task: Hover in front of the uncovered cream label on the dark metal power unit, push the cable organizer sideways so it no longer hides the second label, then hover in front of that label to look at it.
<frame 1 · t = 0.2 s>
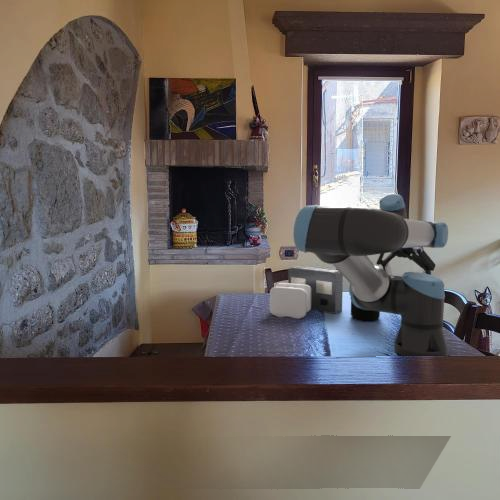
hand: (408, 279, 163), 16 cm above the table, tool tilted 35°, fingers open, 13 cm apart
power unit: (314, 307, 185), on the table
coffee jar: (365, 318, 170), on the table
cable organizer: (290, 314, 176), on the table
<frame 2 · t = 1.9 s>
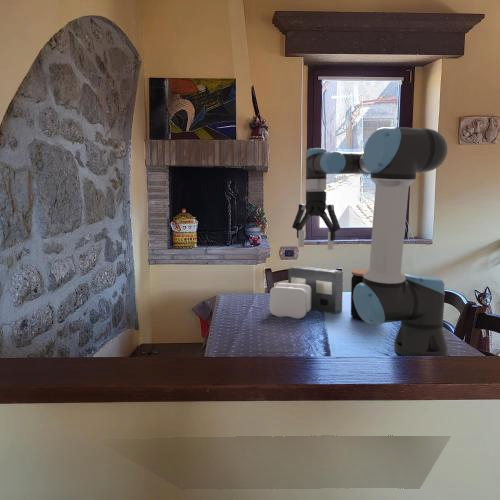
hand: (315, 248, 170), 27 cm above the table, tool pointing down, fingers open, 12 cm apart
nothing on the table moved.
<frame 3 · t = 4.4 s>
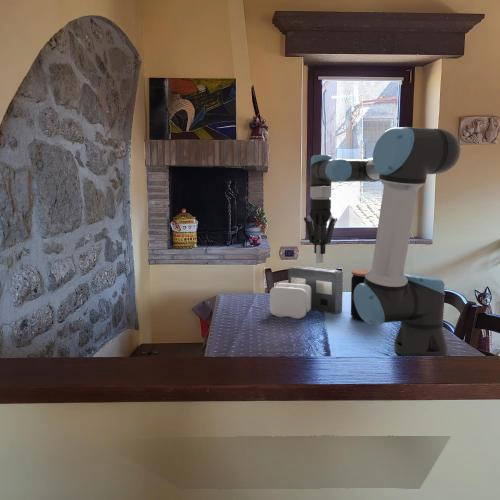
hand: (319, 262, 166), 22 cm above the table, tool pointing down, fingers closed
nothing on the table moved.
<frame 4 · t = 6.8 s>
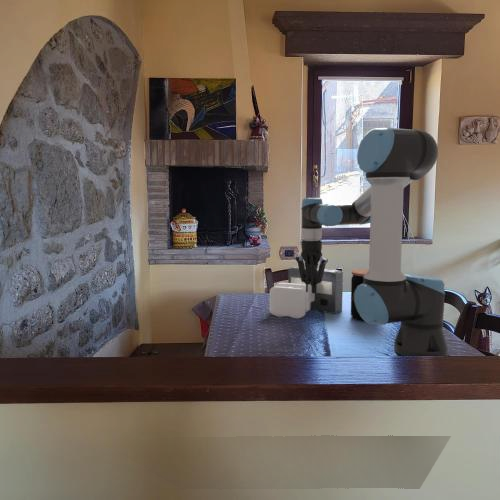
hand: (311, 301, 170), 7 cm above the table, tool pointing down, fingers closed
cable organizer: (289, 314, 176), on the table, touching gripper
everything else where it was.
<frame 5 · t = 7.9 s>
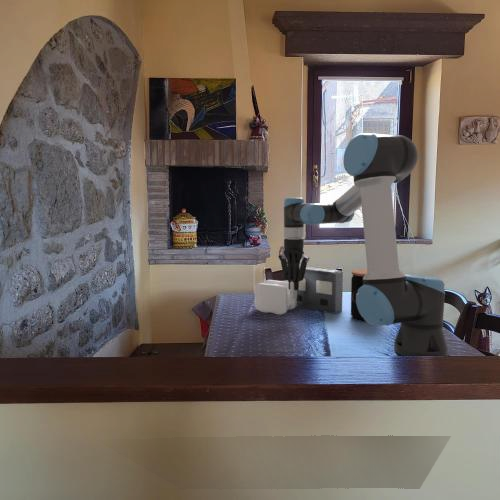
hand: (293, 298, 175), 7 cm above the table, tool pointing down, fingers closed
cable organizer: (275, 311, 182), on the table, touching gripper
everything else where it was.
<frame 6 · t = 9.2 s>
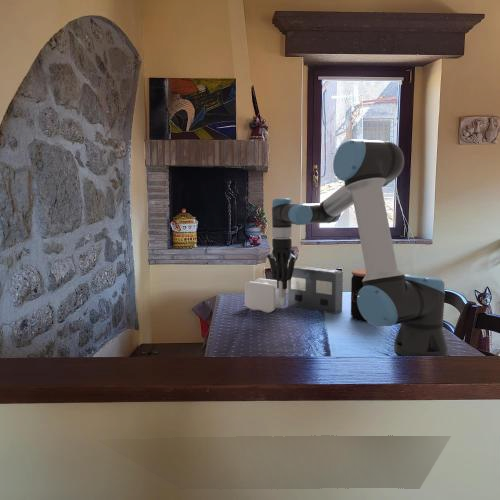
hand: (282, 296, 178), 6 cm above the table, tool pointing down, fingers closed
cable organizer: (265, 309, 185), on the table, touching gripper
everything else where it was.
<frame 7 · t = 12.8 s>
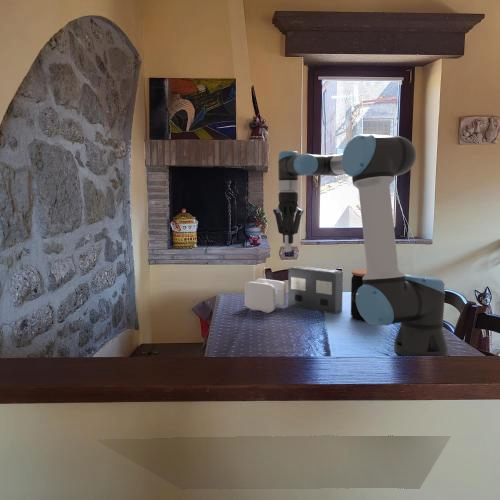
hand: (288, 251, 177), 24 cm above the table, tool pointing down, fingers closed
cable organizer: (264, 309, 185), on the table
everything else where it was.
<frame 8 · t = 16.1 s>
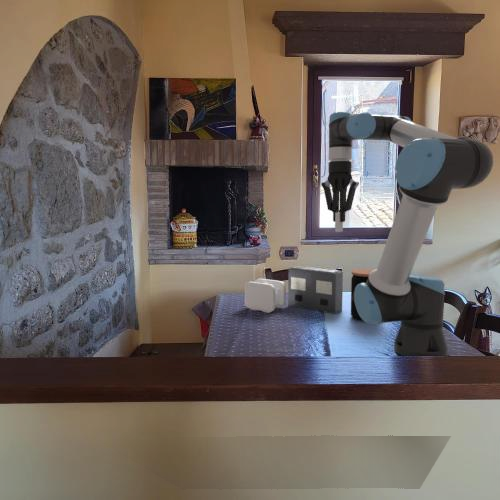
hand: (338, 231, 152), 34 cm above the table, tool pointing down, fingers closed
nothing on the table moved.
at the end: cable organizer inside the target area (5.9 cm from its centre), on the table; cable organizer tilted 0°; cable organizer touching table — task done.
